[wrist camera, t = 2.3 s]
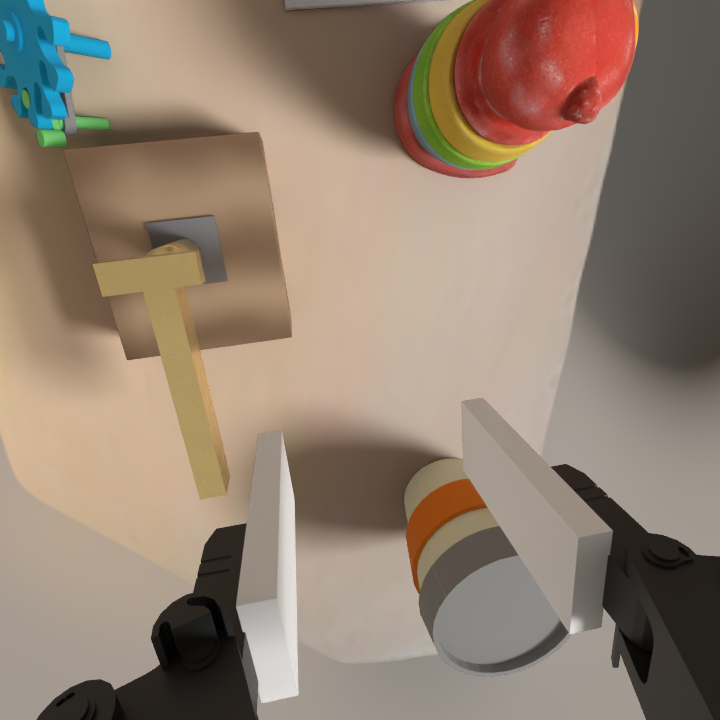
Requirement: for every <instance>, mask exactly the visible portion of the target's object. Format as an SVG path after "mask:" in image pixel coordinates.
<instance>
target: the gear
mask: <svg viewBox="0 0 720 720" xmlns="http://www.w3.org/2000/svg"><path fill="white" fill-rule="evenodd" d="M64 51H65V52H71V53H76V54H82V55H87V56H93V57H98V58H104V59H110V57H111V48H110V45H109V43H108V42H107V41H103V40H98V39H93V38H88V37H84V36H79V35H74V34H70V30H69V23H68V22H67V20H65V19H63V18H58V17H54V16H50V15H49V14H48V13H47V11H46V9H45V6H44V0H0V52H1V53H2V55H3V57H4V60H5V65H1V64H0V87H4V88H12V89H18V93H17V94H16V95H15V94H13V95H12V97H11V103H12V105H13V107H14V110H15V111H16V113H17V115H18V116H19V117H22V118H29V121H30V123H31V124H32V125H33V126H34V127H36V128H40V129H37V132H36V135H37V140H38V142H39V144H40V146H41V147H56V148H65V147H66V146H67V140H66V136H65V135H75V134H76V131H77V128H83V129H98V130H109V122H108V120H107V119H105V118H94V117H82V116H75V111H74V105H73V100H72V94H71V90H72V87H73V82H74V78H73V75H72V72H71V71H70V69H69V68H67V64H66V58H65V52H64ZM48 129H51V130H48Z"/></svg>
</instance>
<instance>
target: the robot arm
mask: <svg viewBox="0 0 720 720" xmlns="http://www.w3.org/2000/svg"><path fill="white" fill-rule="evenodd" d="M462 442H463V470H464V472H465V473H466V475H467V476H468V478H469V479H470V481H471V482H472V484H473V485H474V487H475V489H476V490H477V492H478V493H479V495H480V496H481V498H482V499H483V501H484V502H485V504H486V506H487V507H488V509H489V510H490V512H491V513H492V515H493V516H494V518H495V519H496V521H497V523H498V524H499V526H500V527H501V529H502V530H503V532H504V533H505V535H506V537H507V538H508V540H509V541H510V543H511V544H512V546H513V547H514V549H515V550H516V552H517V554H518V555H519V557H520V558H521V560H522V561H523V563H524V564H525V566H526V567H527V569H528V571H529V572H530V574H531V575H532V577H533V578H534V580H535V581H536V583H537V584H538V586H539V588H540V589H541V591H542V592H543V594H544V595H545V597H546V598H547V600H548V602H549V603H550V605H551V606H552V608H553V609H554V611H555V612H556V614H557V615H558V617H559V619H560V620H561V622H562V623H563V625H564V626H565V628H566V629H567V631H568V632H569V634H573V633H578V632H582V631H587V630H591V629H596V628H600V627H601V624H602V616H603V608H604V609H605V610H606V611H607V613H608V614H609V615H610V616H611V618H612V619H613V620H614V622H615V623H616V627H615V635H614V642H613V649H612V656H611V659H612V665H613V667H615V668H618V666H619V660H620V654H621V656H622V659H623V661H624V664H625V667H626V669H627V672H628V674H629V677H630V679H631V682H632V685H633V687H634V690H635V692H636V695H637V697H638V700H639V702H640V705H641V708H642V710H643V713H644V715H645V718H646V720H720V557H717V556H702V555H696V554H695V553H694V552H693V551H692V550H691V549H690V548H689V547H687V546H685V545H684V544H682V543H681V542H679V541H677V540H675V539H672V538H669V537H667V536H664V535H658V534H651V533H648V532H647V531H646V530H644V528H643V527H642V526H641V525H639V524H638V523H637V522H636V521H635V520H634V519H633V518H632V517H631V516H630V515H629V514H628V513H627V512H625V511H624V510H623V509H622V508H621V507H620V506H619V505H618V504H617V503H616V502H615V501H614V500H613V499H611V498H608V495H607V494H606V493H605V492H604V491H603V490H602V489H601V488H598V487H597V485H596V484H595V483H594V482H593V481H592V480H591V479H590V478H589V477H588V476H587V475H586V474H584V473H583V472H580V471H579V470H577V469H575V468H573V467H571V466H569V465H567V464H563V465H558V466H552V467H550V466H549V465H548V464H547V463H546V462H545V461H544V460H543V459H542V458H541V457H540V456H539V455H538V454H537V453H536V452H535V451H534V450H533V449H532V448H531V446H530V445H529V444H528V443H527V442H526V441H525V440H524V439H523V438H522V437H521V436H520V435H519V434H518V433H517V432H516V431H515V430H514V429H513V428H512V427H511V426H510V425H509V424H508V423H507V422H506V421H505V420H504V419H503V418H502V417H501V416H500V415H499V414H498V413H497V412H496V411H495V410H494V409H493V408H492V407H491V406H490V405H489V404H488V403H487V402H486V400H485V399H484V398H479V399H473V400H466V401H462ZM151 640H152V643H153V646H154V649H155V651H156V654H157V657H158V659H159V662H160V665H159V666H158V667H156V668H155V669H153V670H152V671H150V672H149V673H147V674H145V675H143V676H142V677H139V678H137V679H135V680H134V681H132V682H130V683H128V684H126V685H124V686H122V687H120V688H118V689H116V690H114V689H113V687H112V685H111V684H110V683H108V682H105V681H103V680H100V679H99V680H88V681H85V682H82V683H80V684H78V685H75V686H73V687H71V688H69V689H68V690H66V691H65V692H63V693H62V694H61V695H59V696H58V697H57V698H55V699H54V700H53V701H52V702H51V703H50V704H49V705H48V706H47V707H46V709H45V710H44V711H43V712H42V713H41V714H40V715H39V717H38V719H37V720H258V716H257V698H258V691H259V694H260V698H261V701H262V703H265V702H270V701H275V700H279V699H284V698H288V697H293V696H297V695H298V658H297V657H298V652H297V601H296V550H295V499H294V494H293V489H292V483H291V478H290V472H289V467H288V461H287V456H286V451H285V445H284V440H283V434H282V430H281V431H275V432H268V433H262V434H258V440H257V448H256V455H255V463H254V471H253V478H252V486H251V494H250V502H249V509H248V517H247V523H246V524H240V525H235V526H229V527H224V528H218V529H216V530H215V531H214V533H213V534H212V535H211V537H210V538H209V540H208V541H207V542H206V544H205V546H204V550H203V554H202V558H201V564H200V566H199V571H198V578H197V579H196V583H195V587H194V592H193V593H191V594H187V595H185V596H183V597H181V598H180V599H178V600H176V601H175V602H173V603H172V604H170V605H169V606H168V607H167V609H165V610H164V611H163V612H162V613H161V614H160V616H159V618H158V619H157V621H156V623H155V624H154V626H153V630H152V636H151Z"/></svg>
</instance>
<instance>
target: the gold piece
mask: <svg viewBox="0 0 720 720" xmlns="http://www.w3.org/2000/svg"><path fill="white" fill-rule="evenodd" d="M201 260H202V250H201V248H200V246H199V245H198V244H197V243H196V242H195V241H193V240H191V239H180V240H177V241H175V242H172V243H169V244H166V245H164V246H161V247H158V248H156V249H153V250H151V251H150V252H148V253H147V255H146V256H142V257H133V258H125V259H116V260H108V261H100V262H97V263H94V264H92V265H93V268H94V271H95V274H96V278H97V281H98V284H99V287H100V291H101V294H102V297H105V296H113V295H121V294H129V293H137V292H143V293H144V297H145V300H146V304H147V308H148V311H149V315H150V319H151V322H152V326H153V330H154V333H155V337H156V340H157V344H158V348H159V351H160V355H161V359H162V362H163V366H164V370H165V373H166V377H167V381H168V384H169V388H170V392H171V395H172V399H173V402H174V406H175V410H176V413H177V417H178V421H179V424H180V428H181V432H182V435H183V439H184V443H185V446H186V450H187V453H188V457H189V461H190V464H191V468H192V472H193V475H194V479H195V483H196V486H197V490H198V494H199V497H200V499H205V498H211V497H216V496H222V495H226V494H227V489H228V485H229V480H230V473H229V469H228V465H227V461H226V457H225V452H224V448H223V444H222V440H221V436H220V432H219V427H218V423H217V419H216V415H215V411H214V407H213V402H212V398H211V394H210V390H209V386H208V382H207V378H206V373H205V369H204V365H203V361H202V357H201V353H200V348H199V344H198V340H197V336H196V332H195V328H194V323H193V319H192V315H191V311H190V307H189V303H188V299H187V294H186V290H185V286H193V285H201V284H203V283H204V282H205V281H206V280H205V276H204V271H203V267H202V262H201Z"/></svg>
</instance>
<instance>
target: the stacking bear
mask: <svg viewBox="0 0 720 720" xmlns="http://www.w3.org/2000/svg"><path fill="white" fill-rule="evenodd" d="M637 39H638V16H637V10H636V7H635V4H634V2H633V0H473V1H471V2H469V3H467V4H465V5H463V6H461V7H460V8H458V9H457V10H455V11H454V12H452V13H451V14H449V15H448V16H447V17H446V18H445V19H443V20H442V21H441V22H440V24H439V25H438V26H437V27H436V28H435V29H434V30H433V32H432V33H431V34H430V35H429V37H428V38H427V40H426V41H425V43H424V45H423V46H422V48H421V50H420V51H419V52H418V53H417V54H416V56H415V57H414V58H413V59H412V60H411V62H410V63H409V64H408V66H407V67H406V69H405V70H404V72H403V74H402V76H401V78H400V80H399V83H398V86H397V89H396V94H395V100H394V118H395V124H396V128H397V132H398V134H399V137H400V139H401V142H402V143H403V145H404V147H405V148H406V150H407V151H408V153H409V154H410V155H411V156H412V157H413V158H414V159H415V160H416V161H417V162H419V163H420V164H422V165H423V166H425V167H427V168H429V169H431V170H433V171H436V172H438V173H441V174H444V175H448V176H452V177H459V178H481V177H487V176H492V175H496V174H499V173H502V172H505V171H507V170H509V169H511V168H512V167H513V166H514V165H515V163H516V161H517V159H518V157H520V156H522V155H523V154H525V153H526V152H527V151H529V150H530V149H532V148H533V147H535V146H536V145H537V144H539V143H540V142H541V141H542V140H544V139H545V138H546V137H547V136H548V135H549V134H550V133H551V132H552V131H553V130H558V129H562V128H566V127H569V126H571V125H574V124H576V123H580V124H587V123H590V122H592V121H593V120H594V119H595V118H596V116H597V114H598V113H599V111H600V110H601V109H602V108H603V107H605V106H606V105H607V104H608V103H609V102H610V101H611V100H612V99H613V98H614V97H615V96H616V94H617V93H618V91H619V90H620V88H621V87H622V85H623V83H624V82H625V80H626V77H627V75H628V73H629V71H630V68H631V65H632V62H633V58H634V54H635V49H636V44H637Z"/></svg>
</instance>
